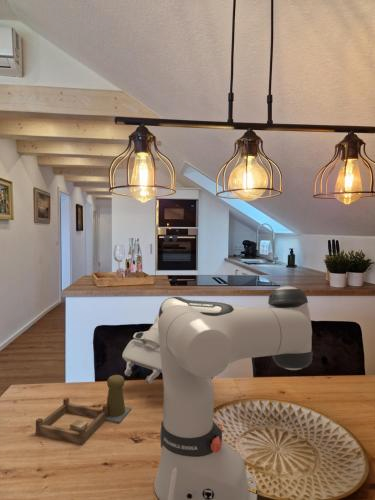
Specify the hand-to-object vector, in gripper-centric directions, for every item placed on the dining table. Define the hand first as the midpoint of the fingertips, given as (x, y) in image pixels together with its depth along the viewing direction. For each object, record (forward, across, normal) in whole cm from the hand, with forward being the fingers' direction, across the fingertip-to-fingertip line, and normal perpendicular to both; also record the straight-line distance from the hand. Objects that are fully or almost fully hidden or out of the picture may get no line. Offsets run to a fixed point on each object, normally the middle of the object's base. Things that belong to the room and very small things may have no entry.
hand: (137, 378), depth 109 cm
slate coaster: (+12, 0, +2) cm, 13 cm away
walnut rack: (+20, +5, +10) cm, 23 cm away
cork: (+12, 0, +2) cm, 12 cm away
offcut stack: (+22, 0, +11) cm, 25 cm away
